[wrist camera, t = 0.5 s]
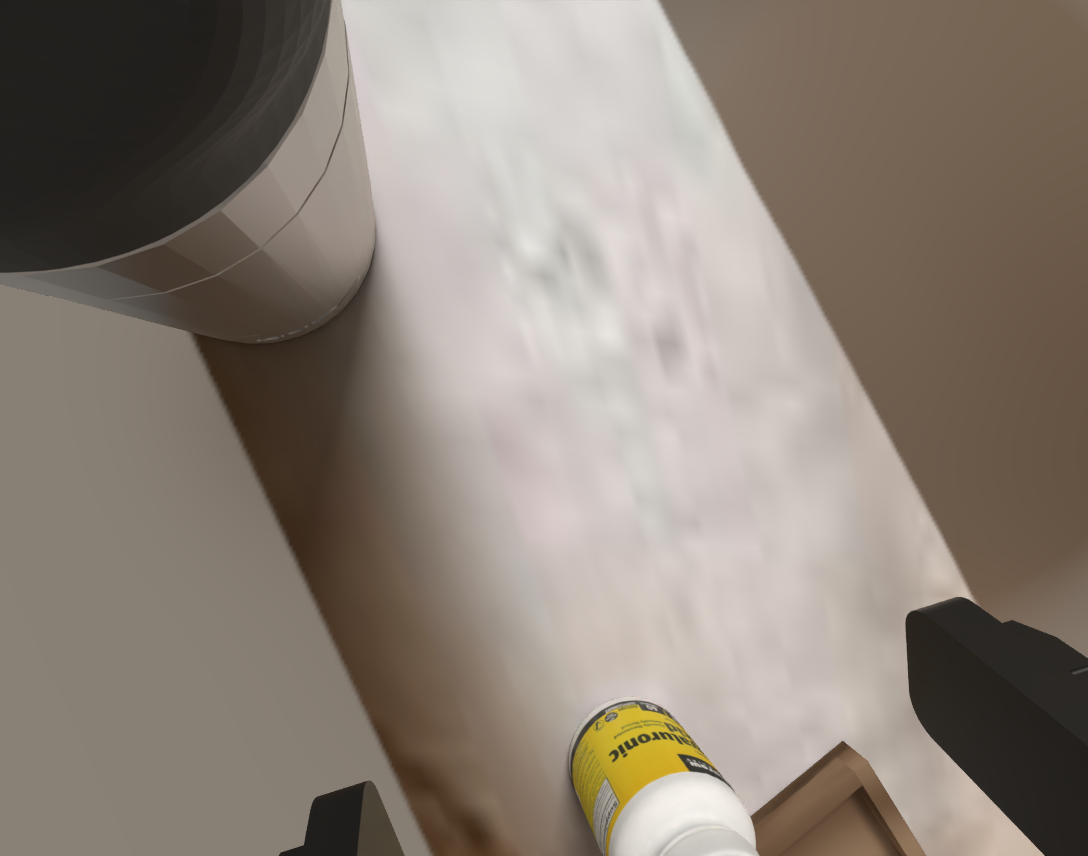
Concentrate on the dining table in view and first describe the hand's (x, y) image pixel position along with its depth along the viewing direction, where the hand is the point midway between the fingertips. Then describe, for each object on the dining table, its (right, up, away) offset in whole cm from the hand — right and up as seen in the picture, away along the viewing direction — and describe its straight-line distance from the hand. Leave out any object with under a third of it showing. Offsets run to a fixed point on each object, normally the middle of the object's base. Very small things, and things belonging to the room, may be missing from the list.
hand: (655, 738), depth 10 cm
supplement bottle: (+2, -10, +21) cm, 23 cm away
